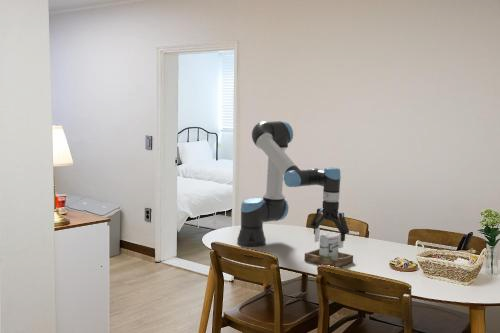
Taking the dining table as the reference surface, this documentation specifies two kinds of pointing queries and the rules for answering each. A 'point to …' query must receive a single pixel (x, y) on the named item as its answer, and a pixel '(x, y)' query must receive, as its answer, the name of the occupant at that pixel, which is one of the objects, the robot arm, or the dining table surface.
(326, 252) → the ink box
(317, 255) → the walled box
